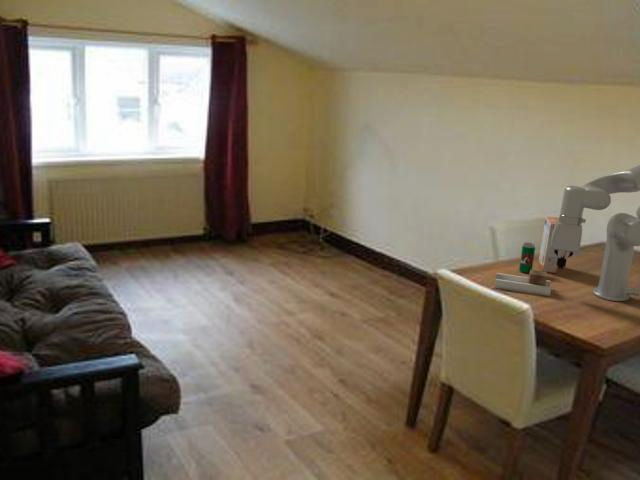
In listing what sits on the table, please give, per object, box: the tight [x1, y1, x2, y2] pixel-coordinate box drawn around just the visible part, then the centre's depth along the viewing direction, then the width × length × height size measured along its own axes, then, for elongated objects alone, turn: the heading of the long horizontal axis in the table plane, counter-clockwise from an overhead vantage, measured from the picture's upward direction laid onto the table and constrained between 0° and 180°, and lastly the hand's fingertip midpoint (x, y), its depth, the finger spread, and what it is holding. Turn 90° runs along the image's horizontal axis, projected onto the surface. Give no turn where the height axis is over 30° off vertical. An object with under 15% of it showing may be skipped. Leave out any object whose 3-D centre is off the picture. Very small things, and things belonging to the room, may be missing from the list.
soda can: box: [518, 242, 536, 274], centre depth 254 cm, size 5×5×12 cm
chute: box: [494, 272, 552, 297], centre depth 236 cm, size 20×9×3 cm, turn 72°
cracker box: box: [537, 216, 559, 274], centre depth 260 cm, size 14×6×21 cm, turn 168°
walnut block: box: [528, 269, 548, 286], centre depth 233 cm, size 6×6×6 cm
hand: (560, 267), depth 229 cm, fingers closed
